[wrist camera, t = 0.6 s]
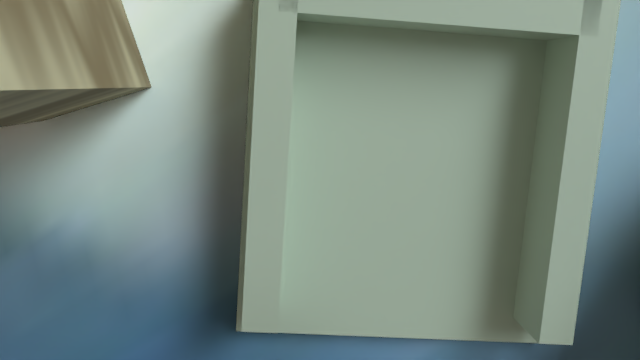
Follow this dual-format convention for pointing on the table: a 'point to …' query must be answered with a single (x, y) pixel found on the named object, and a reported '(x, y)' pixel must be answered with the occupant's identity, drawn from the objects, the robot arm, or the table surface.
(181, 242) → the table surface
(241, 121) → the table surface
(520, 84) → the tray
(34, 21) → the post
